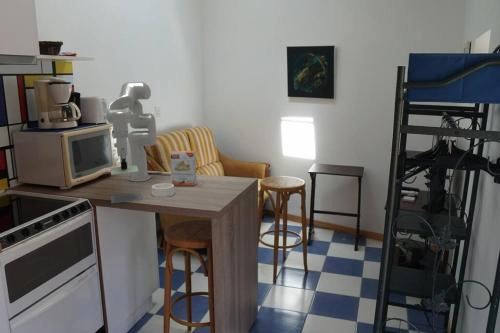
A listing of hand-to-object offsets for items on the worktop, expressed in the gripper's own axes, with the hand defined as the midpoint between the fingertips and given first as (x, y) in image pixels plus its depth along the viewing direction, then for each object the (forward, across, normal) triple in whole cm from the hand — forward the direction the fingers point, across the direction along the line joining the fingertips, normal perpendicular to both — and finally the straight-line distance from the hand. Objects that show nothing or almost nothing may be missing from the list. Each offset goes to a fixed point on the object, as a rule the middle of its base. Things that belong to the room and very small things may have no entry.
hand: (124, 167), depth 224 cm
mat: (+17, +1, 0) cm, 17 cm away
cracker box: (+18, -15, +35) cm, 42 cm away
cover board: (+2, 0, 0) cm, 2 cm away
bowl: (+17, +1, +20) cm, 26 cm away
